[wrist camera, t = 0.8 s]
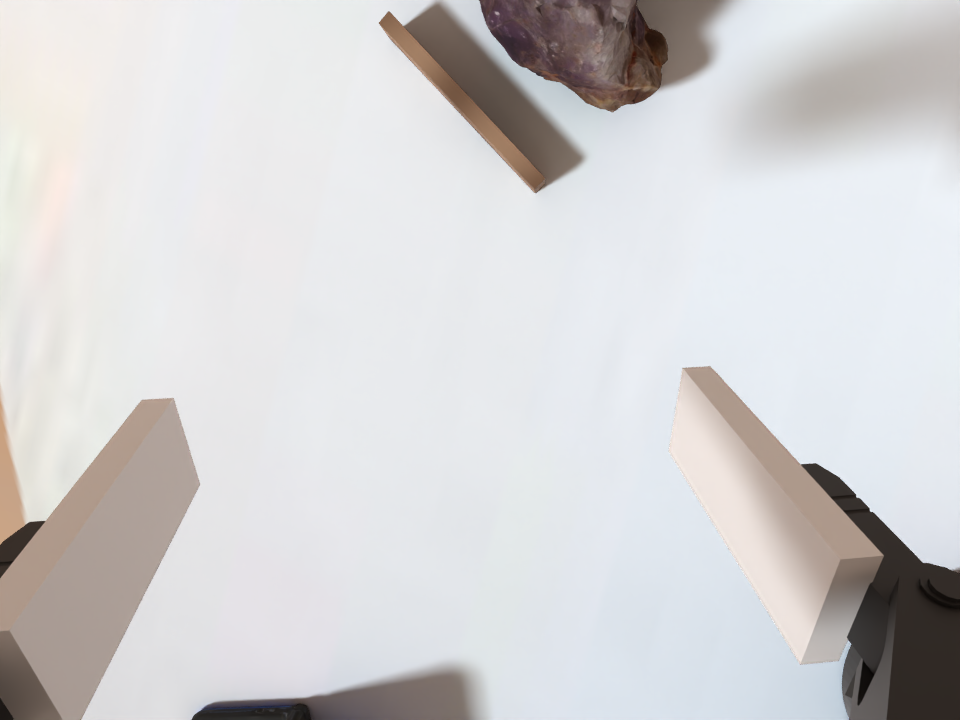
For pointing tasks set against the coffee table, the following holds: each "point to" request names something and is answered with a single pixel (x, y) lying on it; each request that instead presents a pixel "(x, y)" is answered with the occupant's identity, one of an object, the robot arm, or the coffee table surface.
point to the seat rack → (462, 102)
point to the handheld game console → (255, 713)
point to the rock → (582, 46)
